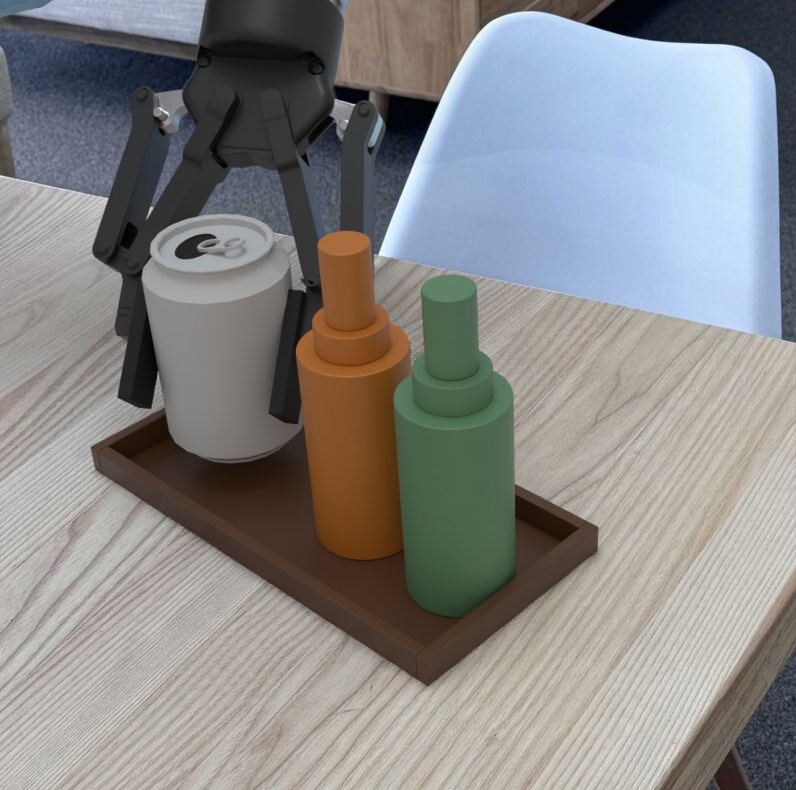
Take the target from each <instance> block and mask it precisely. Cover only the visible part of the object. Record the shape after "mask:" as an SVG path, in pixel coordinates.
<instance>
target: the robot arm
mask: <svg viewBox="0 0 796 790" xmlns="http://www.w3.org/2000/svg"><path fill="white" fill-rule="evenodd" d="M52 1H54V0H0V18H4V17H7V16H10V15H11V16H12V15H15V14H18V13H19V14H20V13H22V12H27V11H33V10H34V9H40V8H43V7H45V6H47V5H48V4H50V3H51V2H52ZM348 4H349V0H205V2H204V8H203V14H202V19H201V25H200V30H199V36H198V42H197V50H196V64H195V67H194V70H193V72H192V74H191V75H190V77H189V78H188V79H187V81H185V83H184V85H183V88H180V89H173V90H166V91H158V92H155V91H154V90H152V89H151V88H150V87H149V86H147V85H140V86H138V87H136V88H135V89H134V90H133V91H132V93H131V119H132V120H131V129H130V133H129V136H128V138H127V140H126V144H125V147H124V150H123V153H122V157H121V159H120V162H119V166H118V167H117V171H116V175H115V177H114V180H113V184H112V187H111V190H110V193H109V196H108V198H107V202H106V204H105V208H104V210H103V213H102V216H101V220H100V222H99V225H98V229H97V231H96V235H95V238H94V241H93V243H92V248H91V253H92V255H93V257H94V258H95V259H97V260H98V261H100V262H101V263H102V264H104V265H105V266H107V267H108V268H109V269H111V270H112V271H114V272H115V273H117V274H118V273H119V274H120V276H121V279H122V283H121V288H120V289H121V290H120V293H119V300H118V305H117V310H116V317H115V322H114V330H115V335H116V336H117V337H119V338H120V339H122V340H123V341H125V342H126V347H125V352H124V358H123V361H122V370H121V374H120V380H119V384H118V389H117V396H116V398H117V399H119V400H120V401H123V402H125V403H127V404H129V405H131V406H132V407H133V406H134V407H135V408H138V409H145V410H152V409H153V402H154V398H155V391H156V386H157V380H158V376H159V372H158V367H157V361H156V356H155V350H154V344H153V339H152V333H151V328H150V322H149V317H148V311H147V306H146V300H145V295H144V289H143V284H142V272H143V267H144V266H145V265H146V264H147V262H148V261H149V260H150V258H151V257H152V256H151V254H150V246H151V242H152V241H153V240H154V238H155V237H156V236H157V235H158V234H159V233H160V232H161V231H163V230H164V229H166V228H167V227H169V226H170V225H173V224H175V223H178V222H180V221H183V220H185V219H189V218H194V217H198V216H200V214H201V213H202V211H203V209H204V207H205V206H206V204H207V201H208V200H209V199H210V197H211V195H212V193H213V192H214V191H215V188H217V186H218V185H219V184H222V183H223V182H224V181H225V180H226V178H227V177H228V175H229V173H230V172H231V170H232V168H234V169H236V168H237V169H247V168H251V167H261V168H263V169H265V170H269V171H276V172H277V173H278V175H279V180H280V183H281V188H282V192H283V197H284V201H285V205H286V210H287V214H288V218H289V222H290V227H291V231H292V235H293V239H294V245H295V249H296V252H297V257H298V261H299V266H300V270H301V274H302V277H301V278H300V282H301V284H303V286H305V290H302V289H294V288H293V289H288V296H287V304H286V307H285V312H284V319H283V325H282V331H281V337H280V344H279V350H278V356H277V362H276V368H275V375H274V381H273V387H272V393H271V399H270V406H269V412H268V413H269V414H270V415H272V416H273V417H275V418H277V419H278V420H280V421H282V422H283V423H289V424H298V422H299V416H300V409H301V403H302V402H301V394H300V385H299V376H298V368H297V359H296V348H297V345H298V343H299V341H300V339H301V338H302V337H303V336H304V335H305V334H306V333H307V332H309V331H310V330H312V329H313V327H312V320H313V317H314V315H315V314H316V313H317V312H318V311H319V310H320V309H322V308H324V307H323V297H322V287H321V277H320V267H319V257H318V247H317V245H318V242H319V240H320V239H321V238H322V237H324V236H325V235H327V233H326V229H325V224H324V221H323V215H322V212H321V207H320V204H319V200H318V196H317V192H316V186H315V182H316V180H315V176H314V171H313V168H312V163H311V158H310V154H309V149H311V147H313V145H314V144H315V143H316V142H317V141H318V140H319V139H320V138H321V137H322V136H323V135H324V134H325V132H327V130H328V129H329V128H330V127H331V126H332V125H333V124H336V130H335V132H336V136H337V137H338V138H339V140H340V142H341V147H340V148H341V149H340V150H341V151H340V211H339V213H340V214H339V215H340V216H339V217H340V218H339V219H340V221H339V222H340V223H339V224H340V225H339V227H340V228H339V231H355V232H360V233H363V234H365V235H366V236H367V237H368V238H369V239H370V242H371V254H372V267H373V280H374V281H375V182H376V181H375V177H376V176H375V173H376V172H375V171H376V170H375V169H376V168H375V166H376V165H375V162H376V161H375V160H376V158H377V155H378V152H379V149H380V147H381V144H382V141H383V139H384V135H385V133H386V129H387V127H386V123H385V121H384V119H383V118H382V115H381V114H380V113H379V111H378V109H377V108H376V105H375V104H374V103H373V102H372V101H370V100H366V99H362V100H359V101H358V102H357V103H351V102H348V101H344V100H340V99H338V96H337V94H336V90H335V81H336V78H337V73H338V66H339V60H340V56H341V55H340V54H341V49H342V42H343V35H344V30H345V19H344V17H343V15H344V14H345V12H346V10H348ZM186 114H189V116H190V118H191V120H192V122H193V124H194V126H195V129H194V130H193V132H192V134H191V135H190V137H189V138H188V140H187V142H186V143H185V145H184V147H183V150H182V159H181V161H180V162H179V165H178V166H177V168H176V170H175V172H174V173H173V174H172V176H171V178H170V180H169V181H168V183H167V185H166V186H165V188H164V190H163V192H162V193H161V194H160V196H159V198H158V200H157V201H156V203H155V205H154V207H153V208H152V210H151V212H150V209H151V206H152V203H153V200H154V197H155V194H156V192H157V188H158V185H159V182H160V179H161V175H162V172H163V170H164V166H165V164H166V161H167V158H168V154H169V150H170V145H171V134H173V135H174V134H177V132H178V131H179V129H180V128H179V125H180V122H181V120H182V118H183V117H184V116H185V115H186ZM149 212H150V213H149Z"/></svg>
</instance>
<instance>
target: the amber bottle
mask: <svg viewBox="0 0 796 790" xmlns="http://www.w3.org/2000/svg"><path fill="white" fill-rule="evenodd" d="M317 247H318V257H319V267H320V277H321V287H322V297H323V307H324V308H322V309H320V310H319V311H318V312H317V313H316V314H315V315H314V317H313V320H312V327H313V329H312V330H310V331H309V332H307V333H306V334H305V335H304V336H303V337H302V338H301V339H300V341H299V343H298V345H297V348H296V359H297V368H298V376H299V385H300V394H301V402H302V411H303V420H304V429H305V437H306V446H307V455H308V463H309V472H310V481H311V490H312V498H313V507H314V516H315V524H316V533H317V537H318V539H319V541H320V542H321V544H322V545H323V546H324V547H325V548H326V549H327V550H329V551H330V552H332V553H334V554H336V555H338V556H341V557H344V558H348V559H354V560H373V559H380V558H384V557H388V556H391V555H393V554H396V553H398V552H400V551H402V550H403V549H404V545H403V531H402V517H401V502H400V488H399V474H398V460H397V446H396V432H395V418H394V404H393V397H394V393H395V390H396V388H397V387H398V385H399V384H400V383H401V382H402V381H403V380H404V379H405V378H406V377H408V376H409V375H411V374H412V354H411V353H412V352H411V341H410V339H409V337H408V335H407V334H406V332H405V331H404V330H403V329H402V328H400V327H399V326H397V324H394V323H391V322H390V314H389V312H388V310H387V309H386V308H384V307H383V306H382V305H380V304H379V303H376V295H375V279H374V280H373V267H372V254H371V242H370V239H369V238H368V237H367V236H366V235H365V234H363V233H360V232H355V231H340V230H338V231H334V232H330V233H328V234H326V235H325V236H324V237H322V238H321V239H320V240H319V242H318V245H317Z"/></svg>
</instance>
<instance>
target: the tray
mask: <svg viewBox="0 0 796 790" xmlns="http://www.w3.org/2000/svg"><path fill="white" fill-rule="evenodd" d="M89 448H90V453H91V456H92V462H93V465H94V469H95V471H97V472H98V473H100V474H102V475H103V476H105V477H106V478H108V479H109V480H110V481H112V482H114V483H115V484H117V485H119V486H120V487H121V488H123V489H125V490H126V491H128V492H129V493H131V494H132V495H134V496H136V497H137V498H138V499H139V500H141V501H143V502H145V503H146V504H147V505H149V506H151V508H154V509H155V510H157V511H159V512H160V513H161V514H163V515H164V516H166V517H168V518H169V519H170V520H172V521H173V522H175V523H177V524H178V525H180V526H182V528H184V529H186V530H187V531H189V532H191V533H192V534H193V535H195V536H197V537H198V538H199V539H201V540H203V541H204V542H206V543H207V544H209V545H211V546H212V547H214V548H215V549H216V550H218V551H220V552H221V553H223V554H225V556H227V557H229V558H230V559H232V560H233V561H235V562H237V563H238V564H240V565H241V566H243V568H246V569H247V570H249V571H250V572H252V573H253V574H255V575H256V576H258V577H259V578H261V579H263V580H264V581H266V582H267V583H268V584H270V585H272V586H273V587H275V588H276V589H278V590H280V592H282V593H284V594H285V595H287V596H288V597H290V598H292V600H295V601H296V602H297V603H299V604H301V605H303V606H304V607H306V608H307V609H309V610H310V611H312V612H313V613H315V614H316V615H318V616H319V617H321V618H322V619H324V620H325V621H327V622H328V623H331V625H333V626H335V627H336V628H338V629H339V630H341V631H342V632H344V633H346V634H347V635H348V636H350V637H351V638H352V639H355V640H356V641H358V642H359V643H360V644H362V645H364V646H365V647H367V648H368V649H370V650H371V651H373V652H374V653H376V654H378V655H379V656H381V657H382V658H383V659H385V660H386V661H389V662H390V663H392V664H393V665H394V666H396V667H398V668H399V669H401V670H402V671H404V672H405V673H407V674H408V675H410V676H411V677H414V678H415V679H416V680H417V681H419V682H421V683H422V684H424V685H425V686H427V687H429V686H431V685H433V683H435V682H436V681H437V680H438V679H440V678H441V677H442V676H444V675H445V674H446V673H448V671H450V670H451V669H452V668H453V667H454V666H456V665H457V664H458V663H460V662H461V661H462V660H463V659H464V658H466V657H467V656H468V655H470V654H471V653H472V652H473V651H475V650H476V649H477V648H479V647H480V646H481V645H482V644H483V643H484V642H486V641H487V640H488V639H490V638H491V637H492V636H493V635H495V634H496V633H497V632H498V631H500V630H501V629H502V628H503V627H505V626H506V625H507V624H508V623H510V621H512V620H513V619H515V618H516V617H517V616H518V615H519V614H521V613H523V611H525V610H526V609H527V608H528V607H529V606H531V605H532V604H533V603H534V602H535V601H537V600H538V599H539V598H540V597H542V596H543V595H544V594H546V593H547V592H548V591H549V590H550V589H552V588H553V587H554V586H556V585H557V584H558V583H560V582H561V581H562V580H563V579H564V578H566V577H567V576H568V575H569V574H571V573H572V572H573V571H575V570H576V569H577V568H578V567H579V566H581V565H582V564H583V563H584V562H586V561H587V560H588V559H589V558H591V557H592V556H593V555H594V554H596V553H597V552H598V549H599V526H597V525H596V524H594V523H592V522H590V521H587V520H586V519H584V518H582V517H580V516H579V515H576V514H574V513H573V512H570V511H569V510H567V509H565V508H563V507H561V506H559V505H557V504H555V503H553V502H551V501H549V500H547V499H546V498H544V497H541V496H539V494H536V493H534V492H532V491H530V490H529V489H526V488H524V487H523V486H520V485H518V484H516V483H515V544H516V578H515V579H513V580H512V581H511V582H509V583H508V584H507V585H506V586H504V587H503V588H502V589H500V590H499V591H498V592H497V593H495V594H494V595H493V596H491V597H490V598H489V599H487V600H486V601H485V602H484V603H482V604H481V605H480V606H478V607H477V608H476V609H475V610H473V611H472V612H471V613H469V614H468V615H467V616H466V617H464V618H454V617H446V616H441V615H437V614H434V613H431V612H429V611H427V610H425V609H423V608H422V607H420V606H419V605H418V604H417V603H416V602H415V601H414V600H413V599H412V598H411V596H410V594H409V592H408V590H407V585H406V573H405V559H404V549H403V550H402V551H400V552H398V553H396V554H393V555H391V556H388V557H384V558H380V559H373V560H354V559H348V558H344V557H341V556H338V555H336V554H334V553H332V552H330V551H329V550H327V549H326V548H325V547H324V546H323V545H322V544H321V542H320V541H319V539H318V537H317V533H316V524H315V516H314V507H313V498H312V490H311V481H310V472H309V463H308V455H307V446H306V437H305V429H304V424H303V426H302V429H301V430H300V431H299V432H298V433H297V434H296V435H295V436H294V437H293V438H292V439H290V440H289V441H288V442H287V443H286V444H285V445H284V446H283V447H282V448H281V449H279V450H277V451H276V452H274V453H272V454H270V455H268V456H266V457H263V458H260V459H256V460H253V461H249V462H240V463H221V462H213V461H210V460H207V459H204V458H201V457H199V456H198V455H197V454H194V453H191V452H188V451H186V450H185V449H184V448H182V447H181V446H179V445H178V444H177V443H175V441H174V439H173V438H172V436H171V434H170V432H169V428H168V422H167V417H166V411H165V406H164V407H162V408H160V409H158V410H156V411H154V412H152V413H151V414H149V415H147V416H145V417H143V418H141V419H140V420H137V421H135V422H134V423H132V424H130V425H128V426H126V427H125V428H122V429H121V430H119V431H117V432H115V433H114V434H111V435H109V436H108V437H106V438H104V439H102V440H100V441H98V442H96V443H95V444H92V445H91V446H90V447H89Z"/></svg>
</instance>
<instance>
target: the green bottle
mask: <svg viewBox="0 0 796 790" xmlns="http://www.w3.org/2000/svg"><path fill="white" fill-rule="evenodd" d="M420 300H421V319H422V335H423V338H422V340H423V352H422V353H421V354H419V355H418V356H417V357H416V358H415V359H414V361H413V363H412V364H411V367H412V374H411V375H409V376H408V377H406V378H405V379H404V380H403V381H402V382H401V383H400V384H399V385H398V387H397V388H396V390H395V393H394V397H393V404H394V418H395V432H396V446H397V460H398V474H399V488H400V502H401V517H402V531H403V545H404V559H405V573H406V585H407V590H408V592H409V594H410V596H411V598H412V599H413V600H414V601H415V602H416V603H417V604H418V605H419V606H420V607H422V608H423V609H425V610H427V611H429V612H431V613H434V614H437V615H441V616H446V617H454V618H464V617H466V616H467V615H468V614H469V613H471V612H472V611H473V610H475V609H476V608H477V607H478V606H480V605H481V604H482V603H484V602H485V601H486V600H487V599H489V598H490V597H491V596H493V595H494V594H495V593H497V592H498V591H499V590H500V589H502V588H503V587H504V586H506V585H507V584H508V583H509V582H511V581H512V580H513V579H515V578H516V544H515V484H516V483H515V481H516V480H515V479H516V478H515V475H516V473H515V407H514V406H515V405H514V404H515V401H514V395H515V393H514V390H513V387H512V385H511V384H510V382H509V381H508V380H507V379H506V378H505V377H504V376H503V375H501V374H500V373H498V372H497V371H494V365H493V362H492V359H491V358H490V357H489V355H487V354H486V353H484V352H483V351H481V350H480V344H479V343H480V340H479V308H478V307H479V306H478V304H479V303H478V286H477V284H476V282H475V281H474V280H473V279H471V278H470V277H468V276H465V275H460V274H441V275H436V276H433V277H431V278H429V279H427V280H426V281H424V283H423V284H422V285H421V287H420Z"/></svg>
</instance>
